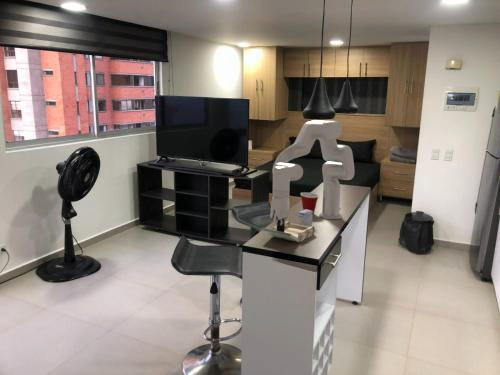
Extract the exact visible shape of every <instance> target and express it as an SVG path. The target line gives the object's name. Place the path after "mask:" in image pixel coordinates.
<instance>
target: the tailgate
mask: <svg viewBox="0 0 500 375" xmlns="http://www.w3.org/2000/svg"><path fill="white" fill-rule="evenodd" d="M261 230H262V231H263V232H265V233H266V234H268V235H270V236H271V237H274V238H279V239H282V238H283V239H284V240H287V241H291V242H292V241H293V242H295V241H296V242H295V243H300V242H299V241H300V240H299V239H298V238H296V237H295V236H293V235H292V234H290V233H285V232H280V231H276V230H273V229H270V228H265V227H262V228H261ZM283 239H282V240H283Z"/></svg>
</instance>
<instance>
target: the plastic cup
mask: <svg viewBox="0 0 500 375" xmlns="http://www.w3.org/2000/svg"><path fill="white" fill-rule="evenodd" d="M300 197H301V205H302V211H303V210H305V209H307V210H311V211H313V216H314V214H315V210H316V207H317V204H318V203H317V202H318V200H319V197H320V195H319V194H317V193H313V192H300Z"/></svg>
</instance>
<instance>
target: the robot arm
mask: <svg viewBox="0 0 500 375" xmlns="http://www.w3.org/2000/svg"><path fill="white" fill-rule="evenodd" d="M342 127H343V126H342V124H341V122H339V121H338V120H325V119H324V120H323V119H322V120H321V119H313V120H310V121H307V122H305V123H304V124H303V125H302V127H301V129H300V131H299V133H298V135H297V136H296V139H295V141H294V143H293V144H291V145H289V146H288V147H286V148H285V149H283V150H282V151H281V152H280V153H279V154H278V155H277V157H276V158H275V161H274V163H273V165H272V169H271V170H272V172H271V173H272V198H271V203H270V215H269V216H270V218H271V219H273V220H272V221H273V223H275V224H276V226H277V231H280V232H284V228H285V222H286V219H287V218H288V217H289V215H290V214H291V213H290V212H291V207H290V206H291V200H290V190H291V189H290V184H291V183H290V182H292V181H295V182H296V181H298V180H300V179H302V177H303V175H304V169H303V167H302V166H301V165H300V164H298V163H290V161H291V160H294V159H297V158H299V157H300V158H301V157H303V156H307V155H308V154H309V153H311V149H312V148H313V146H314V144H315V142H316V140H319V143H320V149H321V150H320V151H321V154H322V158H323V160H324V161H326V162H324V163H323V164H322V168H321V170H322V171H321V172H322V179H323V186H322V187H323V189H322V204H321V205H322V210H321V212H319V215H318V216H319V217H320V218H321V219H326V220H339V219H342V218H343V214H341V213H340V211H341V210H342V208H341V205H340V204H341V190H342V188H341V184H340V182H339V180H343V181H350V180H352V179H353V178H354V176H355V171H356V170H355V163H354V155H353V151H352V147H350V146H349V145H346V144H338V142H337V139H338V138H339V137H340V136H341V134H342V131H343V128H342Z"/></svg>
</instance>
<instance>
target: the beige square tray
mask: <svg viewBox="0 0 500 375" xmlns="http://www.w3.org/2000/svg"><path fill="white" fill-rule="evenodd" d="M315 228H316V227H315V225H312V226H310V227H307V226H302V225H297V224H296V223H292V222H291V221H290V220H287V221H286V220H285V228H284V232H285V233H290V234H292V235H293V236H295V237H296V238H298V239H299V240H300V241H299V242H298V243H302V242H304V241H305V240H304V239H306V238H308V237H309V238H311V237H313V236H314V235H315ZM272 230H276V231H277V225H274V226H273V227H272ZM312 235H313V236H312ZM310 236H311V237H310ZM309 238H308V239H309ZM303 240H304V241H303ZM306 240H307V239H306ZM301 241H302V242H301Z"/></svg>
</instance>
